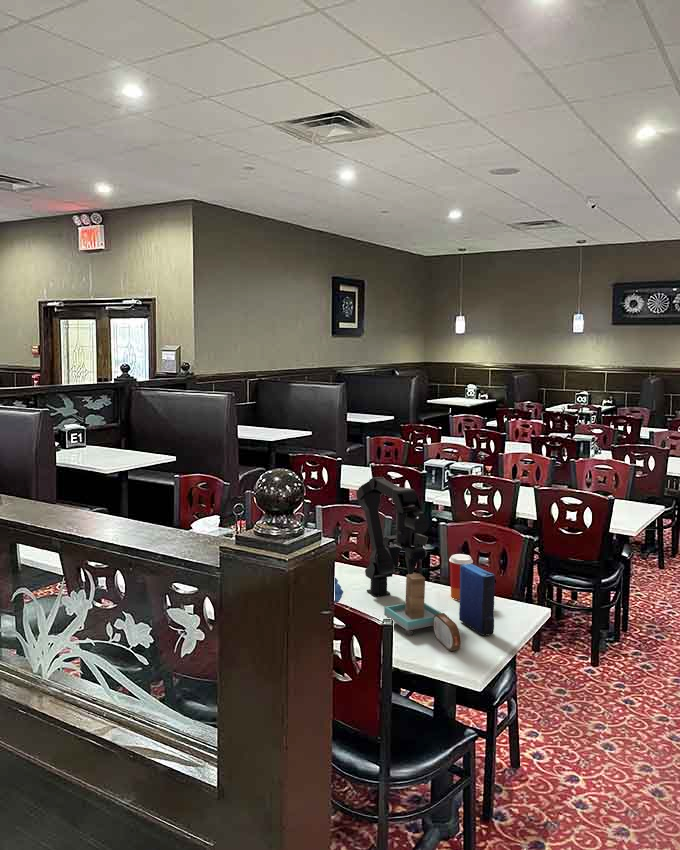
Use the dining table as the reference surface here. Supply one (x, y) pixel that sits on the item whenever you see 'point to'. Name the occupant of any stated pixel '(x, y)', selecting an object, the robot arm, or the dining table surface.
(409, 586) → the walnut block
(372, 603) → the dining table surface
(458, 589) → the coffee cup
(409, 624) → the teal shallow tray
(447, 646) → the tin
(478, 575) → the book
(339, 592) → the grapes
